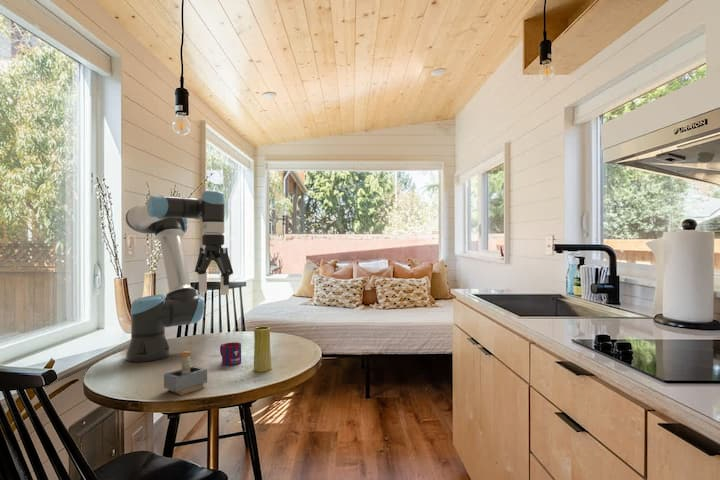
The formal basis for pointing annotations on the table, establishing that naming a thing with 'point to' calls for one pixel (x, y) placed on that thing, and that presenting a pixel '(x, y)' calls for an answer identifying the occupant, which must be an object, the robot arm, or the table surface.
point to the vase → (262, 349)
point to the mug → (231, 353)
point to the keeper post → (186, 369)
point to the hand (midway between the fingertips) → (213, 293)
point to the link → (185, 379)
